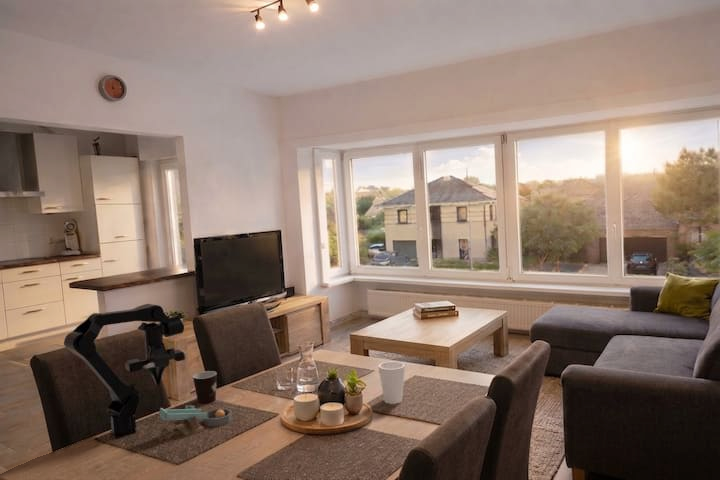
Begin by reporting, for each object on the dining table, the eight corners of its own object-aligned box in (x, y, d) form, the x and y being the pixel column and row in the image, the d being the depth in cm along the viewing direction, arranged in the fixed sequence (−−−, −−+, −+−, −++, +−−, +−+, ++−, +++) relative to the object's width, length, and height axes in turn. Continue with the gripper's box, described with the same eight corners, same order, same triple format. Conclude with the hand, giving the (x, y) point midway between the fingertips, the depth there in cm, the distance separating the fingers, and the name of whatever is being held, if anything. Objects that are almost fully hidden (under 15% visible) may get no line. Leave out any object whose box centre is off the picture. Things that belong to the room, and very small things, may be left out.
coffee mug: (204, 406, 194) (202, 380, 193) (190, 402, 199) (188, 376, 198) (229, 396, 203) (228, 371, 202) (215, 392, 208) (213, 367, 207)
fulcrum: (163, 443, 165) (162, 427, 164) (154, 435, 171) (153, 419, 171) (203, 430, 173) (202, 415, 173) (193, 422, 180) (192, 408, 179)
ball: (224, 421, 180) (216, 419, 178) (220, 418, 183) (212, 416, 181) (227, 412, 181) (219, 410, 179) (223, 409, 183) (215, 407, 182)
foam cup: (407, 405, 186) (405, 368, 185) (380, 406, 186) (378, 370, 185) (405, 395, 195) (403, 360, 194) (380, 396, 195) (378, 361, 194)
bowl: (211, 428, 174) (210, 421, 174) (200, 420, 181) (200, 413, 181) (235, 420, 180) (235, 413, 180) (224, 413, 187) (224, 406, 187)
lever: (164, 420, 166) (165, 412, 167) (150, 409, 177) (151, 401, 177) (207, 419, 175) (208, 411, 175) (191, 408, 186) (192, 400, 186)
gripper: (132, 350, 171) (136, 397, 172) (189, 338, 183) (192, 383, 184) (123, 344, 180) (126, 389, 181) (177, 333, 191) (180, 375, 192)
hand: (157, 384), depth 184 cm, fingers closed
